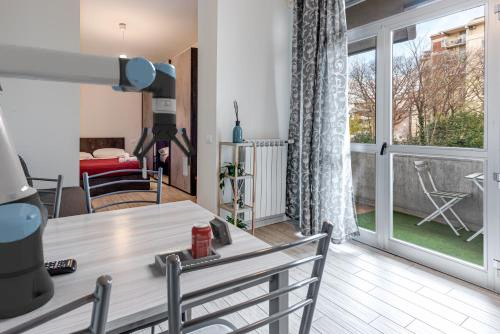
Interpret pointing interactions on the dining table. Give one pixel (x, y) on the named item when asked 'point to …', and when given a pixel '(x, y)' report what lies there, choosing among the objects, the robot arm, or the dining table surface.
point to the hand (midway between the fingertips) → (165, 176)
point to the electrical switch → (220, 230)
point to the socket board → (184, 255)
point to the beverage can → (201, 240)
